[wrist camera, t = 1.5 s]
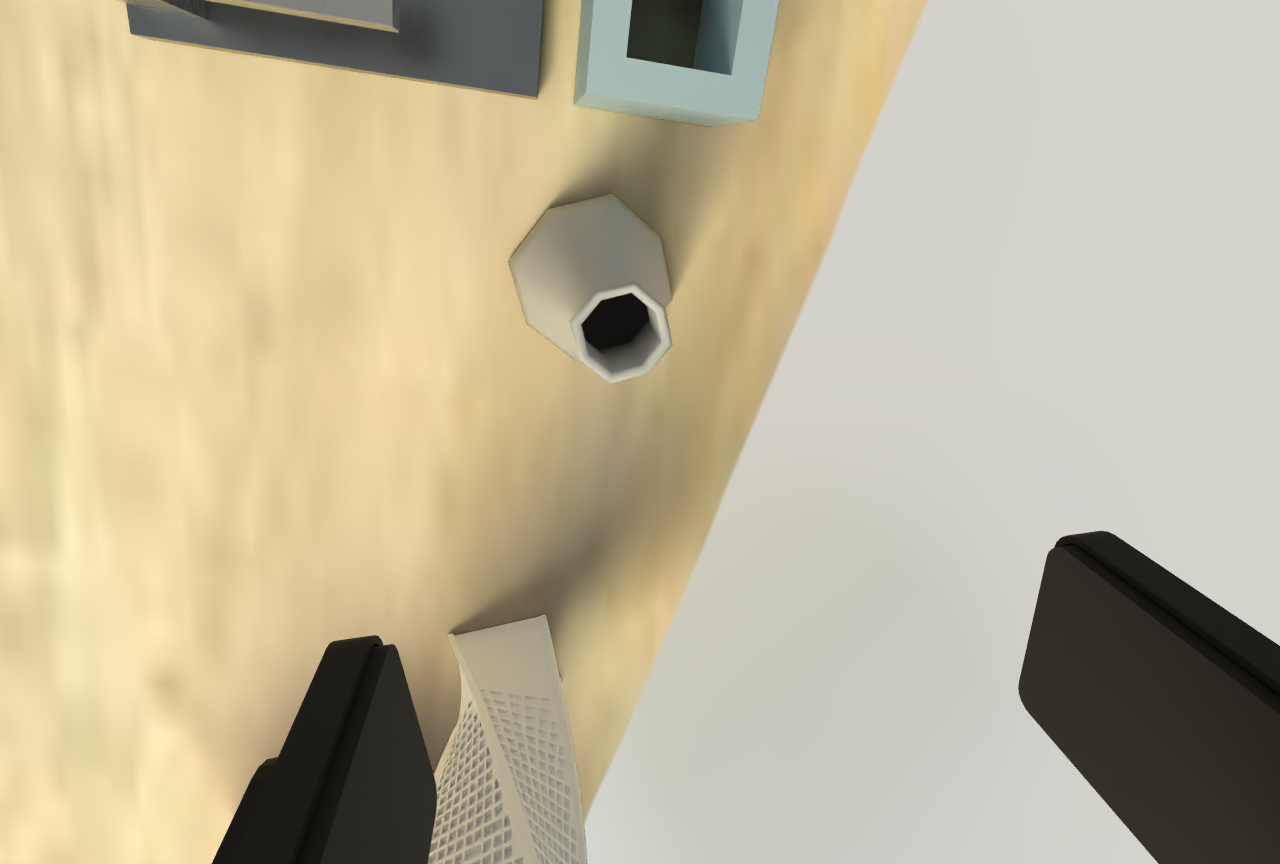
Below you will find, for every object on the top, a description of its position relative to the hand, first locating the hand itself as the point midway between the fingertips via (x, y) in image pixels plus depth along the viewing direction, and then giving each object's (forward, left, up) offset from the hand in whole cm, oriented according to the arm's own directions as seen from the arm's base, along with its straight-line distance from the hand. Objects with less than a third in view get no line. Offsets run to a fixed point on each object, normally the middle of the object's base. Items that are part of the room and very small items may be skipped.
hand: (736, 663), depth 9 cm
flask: (0, +1, -23) cm, 23 cm away
